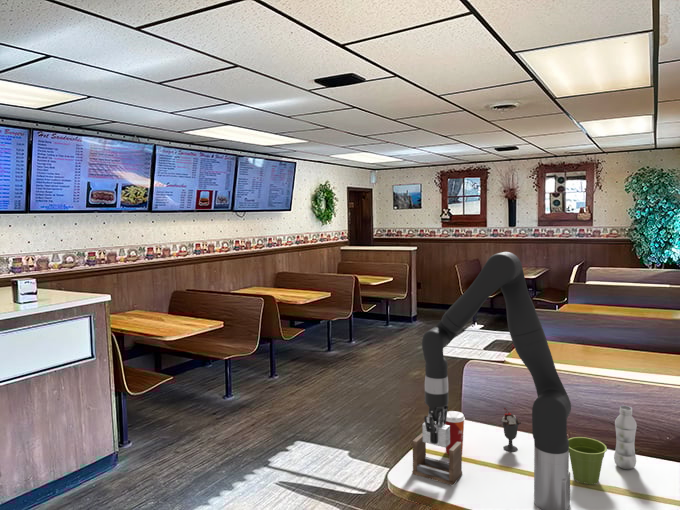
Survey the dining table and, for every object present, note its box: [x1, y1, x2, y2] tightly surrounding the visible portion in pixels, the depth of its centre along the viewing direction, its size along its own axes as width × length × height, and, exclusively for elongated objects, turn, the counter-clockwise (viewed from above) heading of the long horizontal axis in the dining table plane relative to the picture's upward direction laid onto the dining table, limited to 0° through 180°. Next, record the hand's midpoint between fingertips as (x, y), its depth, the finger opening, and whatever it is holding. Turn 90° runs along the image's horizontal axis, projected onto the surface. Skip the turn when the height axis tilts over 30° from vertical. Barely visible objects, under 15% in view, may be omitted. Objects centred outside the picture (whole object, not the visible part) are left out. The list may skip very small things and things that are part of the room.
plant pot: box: [568, 436, 608, 486], centre depth 164 cm, size 12×12×11 cm
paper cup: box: [445, 410, 466, 456], centre depth 184 cm, size 8×8×14 cm
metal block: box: [422, 422, 450, 449], centre depth 169 cm, size 8×4×6 cm, turn 56°
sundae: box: [500, 407, 521, 453], centre depth 185 cm, size 7×7×15 cm
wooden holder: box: [411, 432, 463, 486], centre depth 169 cm, size 14×8×11 cm, turn 56°
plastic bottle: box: [613, 405, 638, 470], centre depth 170 cm, size 6×7×20 cm
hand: (436, 440), depth 169 cm, fingers closed on metal block, 3 cm apart
